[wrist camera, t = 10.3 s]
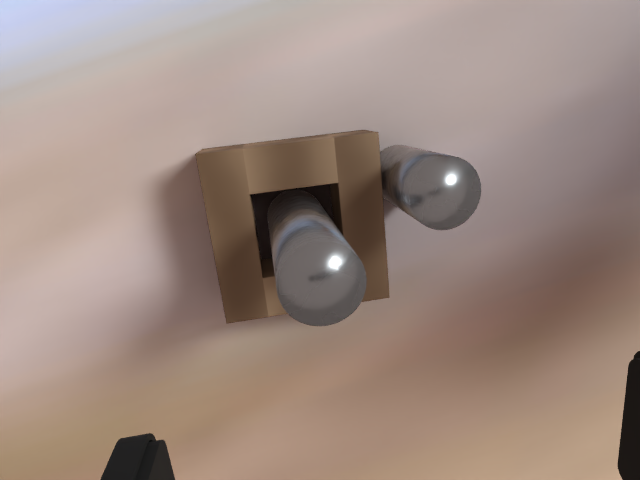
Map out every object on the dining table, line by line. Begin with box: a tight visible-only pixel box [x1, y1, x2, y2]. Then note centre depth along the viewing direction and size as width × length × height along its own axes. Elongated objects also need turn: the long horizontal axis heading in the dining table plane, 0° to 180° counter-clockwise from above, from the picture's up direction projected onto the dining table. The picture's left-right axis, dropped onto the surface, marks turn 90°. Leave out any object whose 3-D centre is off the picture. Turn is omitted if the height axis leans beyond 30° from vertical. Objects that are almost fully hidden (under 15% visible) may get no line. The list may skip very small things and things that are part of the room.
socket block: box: [195, 130, 389, 323], centre depth 28 cm, size 10×10×4 cm
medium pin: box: [380, 145, 481, 230], centre depth 26 cm, size 4×4×8 cm
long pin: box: [267, 189, 367, 326], centre depth 23 cm, size 4×4×12 cm
